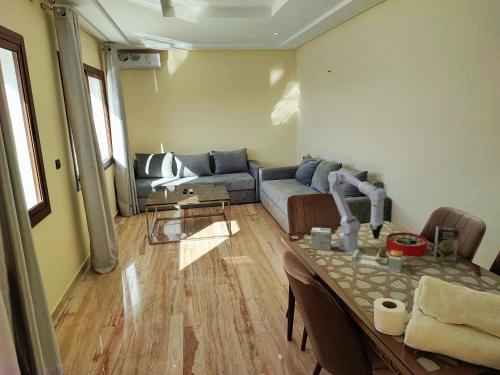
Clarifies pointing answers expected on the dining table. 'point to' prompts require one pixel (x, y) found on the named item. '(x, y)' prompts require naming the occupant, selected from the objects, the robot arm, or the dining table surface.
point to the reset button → (395, 253)
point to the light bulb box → (321, 238)
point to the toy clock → (407, 243)
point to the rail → (369, 261)
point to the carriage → (382, 255)
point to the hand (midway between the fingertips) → (376, 238)
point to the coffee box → (446, 243)
